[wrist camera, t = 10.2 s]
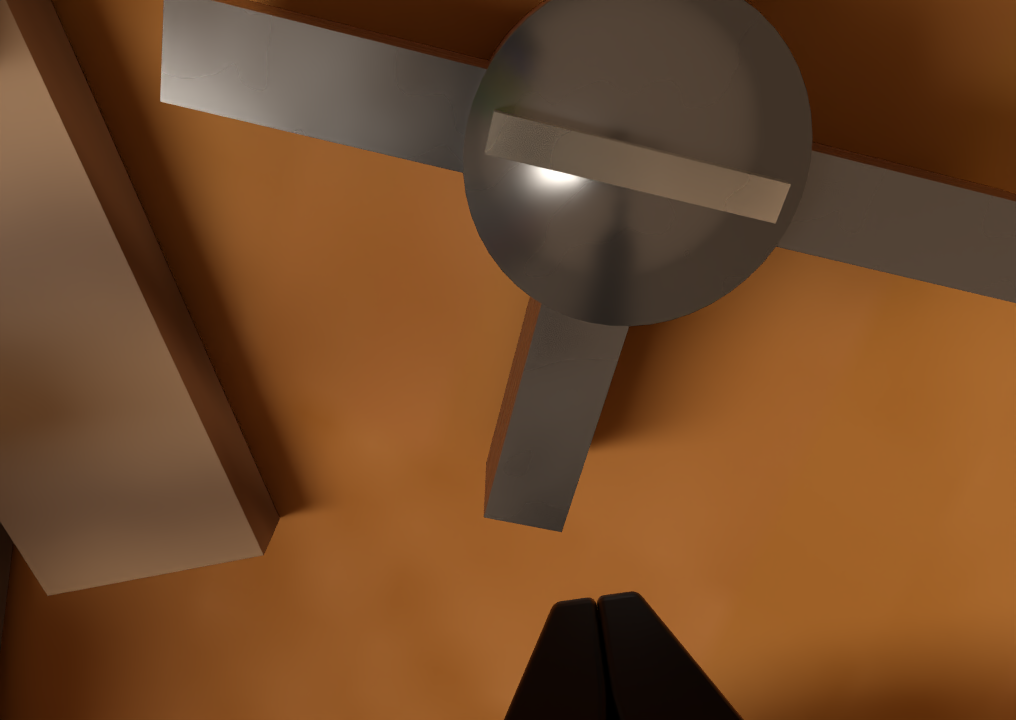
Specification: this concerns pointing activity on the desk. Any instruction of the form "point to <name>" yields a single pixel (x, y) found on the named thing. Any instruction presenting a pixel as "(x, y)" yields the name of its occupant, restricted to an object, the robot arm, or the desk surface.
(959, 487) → the desk surface
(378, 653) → the desk surface
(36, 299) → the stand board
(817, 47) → the desk surface
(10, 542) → the toy soldier
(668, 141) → the capstan
